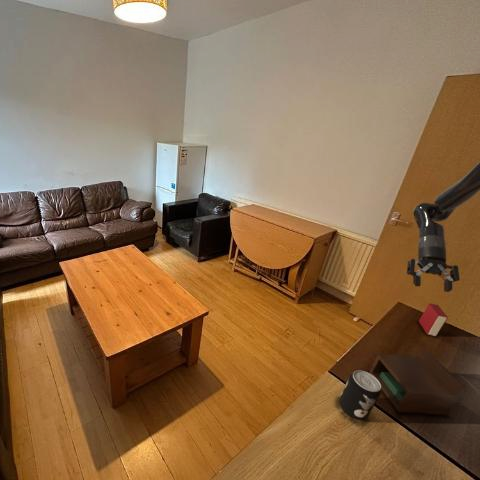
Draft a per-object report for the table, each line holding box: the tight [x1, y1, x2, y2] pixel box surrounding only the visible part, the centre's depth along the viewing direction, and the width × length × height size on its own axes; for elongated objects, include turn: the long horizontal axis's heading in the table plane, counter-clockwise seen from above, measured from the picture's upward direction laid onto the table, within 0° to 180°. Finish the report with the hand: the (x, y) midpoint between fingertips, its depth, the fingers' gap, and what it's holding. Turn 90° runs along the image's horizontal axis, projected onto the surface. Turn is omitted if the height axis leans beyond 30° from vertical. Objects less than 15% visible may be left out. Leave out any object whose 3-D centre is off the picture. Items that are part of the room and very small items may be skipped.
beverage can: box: [338, 369, 382, 421], centre depth 67 cm, size 7×7×12 cm
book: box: [418, 302, 449, 337], centre depth 93 cm, size 3×7×9 cm, turn 156°
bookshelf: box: [368, 348, 467, 416], centre depth 71 cm, size 12×12×11 cm
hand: (432, 288), depth 96 cm, fingers open, 8 cm apart
